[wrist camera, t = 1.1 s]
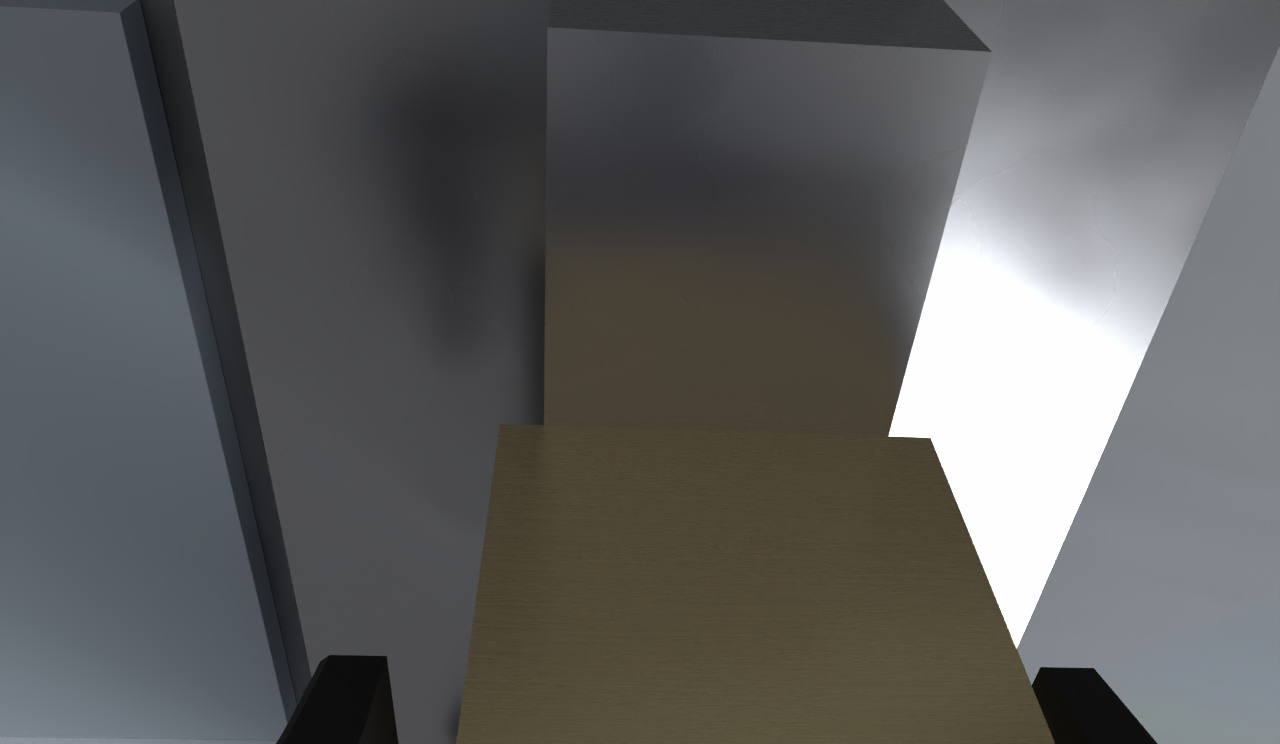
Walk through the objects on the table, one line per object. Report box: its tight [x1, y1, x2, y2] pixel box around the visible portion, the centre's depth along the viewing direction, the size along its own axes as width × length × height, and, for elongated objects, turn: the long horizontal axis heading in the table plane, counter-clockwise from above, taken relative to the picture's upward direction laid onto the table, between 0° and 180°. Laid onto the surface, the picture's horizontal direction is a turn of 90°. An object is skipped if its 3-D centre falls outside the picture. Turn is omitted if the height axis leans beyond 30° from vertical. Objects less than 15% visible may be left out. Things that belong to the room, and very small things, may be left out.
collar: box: [456, 424, 1055, 744], centre depth 11 cm, size 5×5×4 cm
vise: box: [174, 0, 1280, 744], centre depth 13 cm, size 16×12×8 cm
